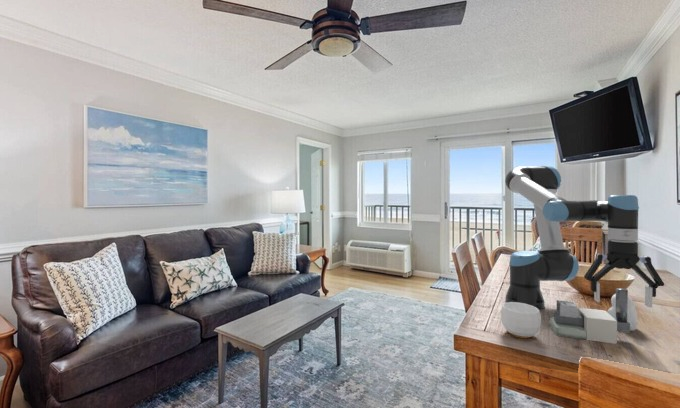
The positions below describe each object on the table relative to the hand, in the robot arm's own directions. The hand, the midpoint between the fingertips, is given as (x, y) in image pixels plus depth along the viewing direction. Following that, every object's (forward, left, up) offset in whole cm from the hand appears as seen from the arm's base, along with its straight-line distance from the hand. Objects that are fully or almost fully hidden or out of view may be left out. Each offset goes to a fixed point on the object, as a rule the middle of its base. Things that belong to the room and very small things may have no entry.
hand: (622, 303), depth 104 cm
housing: (-7, 0, -12) cm, 14 cm away
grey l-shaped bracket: (-9, 0, -9) cm, 13 cm away
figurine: (+5, +13, -12) cm, 19 cm away
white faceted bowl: (-31, -9, -12) cm, 34 cm away
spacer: (-15, 0, -6) cm, 16 cm away
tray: (-15, 0, -12) cm, 20 cm away
